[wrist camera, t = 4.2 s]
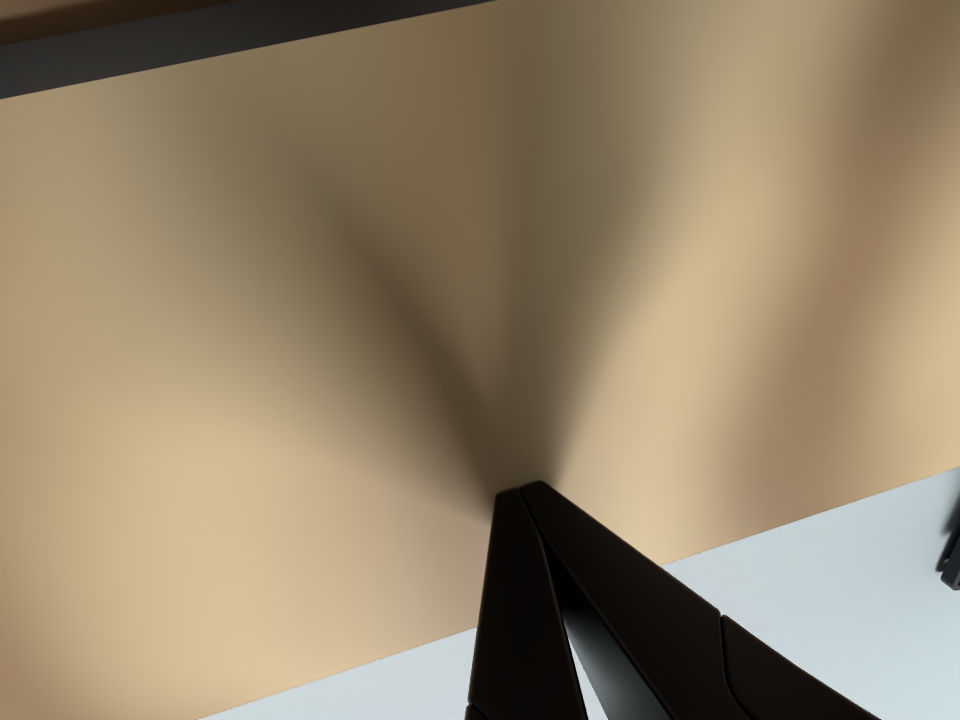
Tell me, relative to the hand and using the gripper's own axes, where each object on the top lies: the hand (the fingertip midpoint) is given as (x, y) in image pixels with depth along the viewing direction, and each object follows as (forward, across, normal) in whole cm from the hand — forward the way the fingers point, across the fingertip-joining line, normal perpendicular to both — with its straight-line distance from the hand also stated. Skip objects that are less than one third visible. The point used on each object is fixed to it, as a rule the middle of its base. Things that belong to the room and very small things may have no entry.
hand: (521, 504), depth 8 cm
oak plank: (+1, 0, -2) cm, 3 cm away
